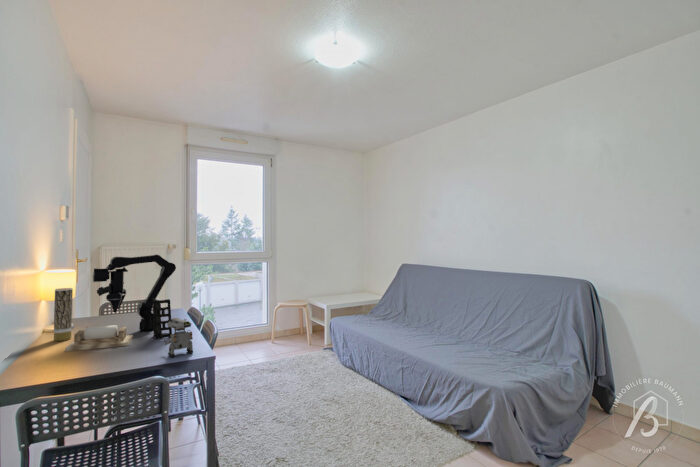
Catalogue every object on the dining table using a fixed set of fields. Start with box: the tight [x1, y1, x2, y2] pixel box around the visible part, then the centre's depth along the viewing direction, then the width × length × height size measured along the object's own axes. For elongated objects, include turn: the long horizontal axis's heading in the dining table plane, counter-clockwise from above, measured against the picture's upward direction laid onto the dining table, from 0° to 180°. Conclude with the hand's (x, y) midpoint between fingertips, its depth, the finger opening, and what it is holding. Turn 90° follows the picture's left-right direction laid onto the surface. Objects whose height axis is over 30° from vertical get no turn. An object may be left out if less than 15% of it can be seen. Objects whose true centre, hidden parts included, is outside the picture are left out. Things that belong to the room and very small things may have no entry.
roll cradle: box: [64, 326, 134, 352], centre depth 168 cm, size 24×14×6 cm, turn 114°
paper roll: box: [84, 324, 119, 340], centre depth 168 cm, size 12×6×6 cm, turn 114°
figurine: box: [163, 317, 194, 358], centre depth 156 cm, size 9×12×15 cm
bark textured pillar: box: [53, 287, 73, 342], centre depth 175 cm, size 7×7×25 cm
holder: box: [152, 298, 173, 339], centre depth 181 cm, size 11×8×20 cm
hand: (116, 310), depth 186 cm, fingers open, 9 cm apart
